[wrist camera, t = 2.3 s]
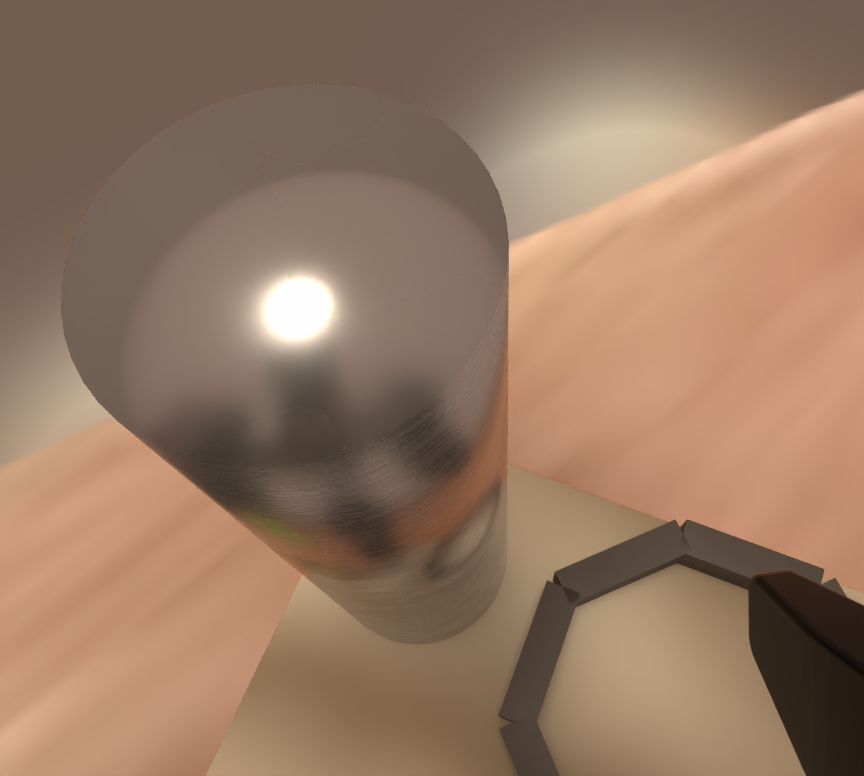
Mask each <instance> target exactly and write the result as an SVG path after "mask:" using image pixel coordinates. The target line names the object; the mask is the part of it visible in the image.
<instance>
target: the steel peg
mask: <svg viewBox="0 0 864 776" xmlns="http://www.w3.org/2000/svg"><path fill="white" fill-rule="evenodd" d="M508 281H509V240H508V232H507V223H506V216H505V213H504V209H503V206H502V202H501V199H500V195H499V193H498V190H497V188H496V186H495V184H494V182H493V180H492V178H491V176H490V173H489V172H488V170H487V169H486V167H485V166H484V164H483V163H482V161H481V160H480V159H479V157H478V155H477V154H476V153H475V152H474V150H473V149H472V148H471V147H470V146H469V145H468V144H467V143H466V142H465V141H464V140H463V138H461V136H460V135H458V134H457V133H456V132H455V131H454V130H452V129H451V128H450V127H449V126H447V125H446V124H445V123H444V122H443V121H441V120H440V119H438V118H436V117H435V116H433V115H431V114H430V113H428V112H426V111H425V110H423V109H422V108H419V107H417V106H415V105H413V104H411V103H408V102H406V101H404V100H402V99H399V98H397V97H393V96H390V95H387V94H384V93H381V92H377V91H374V90H369V89H364V88H359V87H353V86H344V85H333V84H297V85H289V86H280V87H272V88H267V89H262V90H258V91H253V92H248V93H245V94H242V95H239V96H235V97H232V98H229V99H226V100H223V101H220V102H218V103H215V104H213V105H211V106H208V107H206V108H203V109H201V110H199V111H197V112H195V113H193V114H191V115H189V116H187V117H186V118H184V119H182V120H180V121H178V122H176V123H175V124H173V125H172V126H170V127H168V128H167V129H165V130H164V131H162V132H161V133H159V134H158V135H156V136H155V137H153V138H152V139H151V140H150V141H148V142H147V143H146V144H145V145H143V146H142V147H141V148H140V149H139V150H137V151H136V152H135V153H134V154H132V156H130V157H129V158H128V159H127V160H126V161H125V162H124V164H122V165H121V166H120V167H119V169H117V170H116V171H115V173H114V174H113V175H112V176H111V177H110V179H109V180H108V181H107V182H106V184H105V185H104V186H103V188H102V189H101V190H100V191H99V192H98V194H97V195H96V197H95V199H94V200H93V202H92V203H91V205H90V206H89V208H88V209H87V211H86V213H85V214H84V216H83V218H82V221H81V223H80V225H79V227H78V229H77V231H76V233H75V235H74V238H73V241H72V244H71V247H70V250H69V253H68V256H67V259H66V264H65V269H64V275H63V281H62V290H61V291H62V292H61V293H62V294H61V314H62V321H63V329H64V335H65V339H66V342H67V345H68V349H69V352H70V355H71V358H72V360H73V362H74V364H75V366H76V368H77V370H78V372H79V374H80V376H81V378H82V380H83V382H84V383H85V385H86V386H87V387H88V389H89V390H90V391H91V393H92V394H93V396H94V397H95V398H96V400H97V401H98V402H99V403H100V404H101V405H102V406H103V407H104V408H105V409H106V410H107V411H108V412H109V413H110V414H111V415H112V416H113V417H114V418H115V419H116V420H117V421H118V422H119V423H121V424H122V425H123V426H124V427H125V428H127V429H128V430H129V431H130V432H131V433H133V434H134V435H135V436H136V437H137V438H139V439H140V440H141V441H142V442H143V443H145V444H146V445H147V446H148V447H149V448H151V449H152V450H153V451H154V452H155V453H157V454H158V455H159V456H160V457H161V458H163V459H164V460H165V461H166V462H167V463H169V464H170V465H171V466H172V467H173V468H175V469H176V470H177V471H178V472H179V473H181V474H182V475H183V476H184V477H185V478H187V479H188V480H189V481H190V482H191V483H193V484H194V485H195V486H196V487H197V488H199V489H200V490H201V491H202V492H203V493H205V494H206V495H207V496H208V497H210V498H211V499H212V500H213V501H214V502H216V503H217V504H218V505H219V506H220V507H222V508H223V509H224V510H225V511H226V512H228V513H229V514H230V515H231V516H232V517H234V518H235V519H236V520H237V521H238V522H240V523H241V524H242V525H243V526H244V527H246V528H247V529H248V530H249V531H250V532H252V533H253V534H254V535H255V536H256V537H258V538H259V539H260V540H261V541H262V542H264V543H265V544H266V545H267V546H268V547H270V548H271V549H272V550H273V551H274V552H276V553H277V554H278V555H279V556H280V557H282V558H283V559H284V560H285V561H286V562H288V563H289V564H290V565H291V566H292V567H294V568H295V569H296V570H297V571H298V572H300V573H301V574H302V575H303V576H304V577H306V578H307V579H308V580H309V581H311V582H312V583H313V584H314V585H315V586H317V587H318V588H319V589H320V590H321V591H323V592H324V593H325V594H326V595H327V596H329V597H330V598H331V599H332V600H333V601H335V602H336V603H337V604H338V605H339V606H341V607H342V608H343V609H344V610H345V611H347V612H348V613H349V614H350V615H351V616H353V617H354V618H355V619H356V620H357V621H359V622H360V623H361V624H362V625H364V626H365V627H366V628H368V629H369V630H370V631H372V632H374V633H376V634H378V635H379V636H381V637H384V638H386V639H389V640H392V641H396V642H400V643H405V644H429V643H434V642H439V641H442V640H445V639H448V638H451V637H453V636H455V635H457V634H459V633H461V632H463V631H464V630H466V629H467V628H469V627H470V626H472V625H473V624H474V623H475V622H476V621H477V620H478V619H479V618H481V617H482V616H483V614H484V613H485V612H486V611H487V610H488V608H489V607H490V606H491V604H492V602H493V601H494V599H495V598H496V596H497V594H498V591H499V589H500V587H501V584H502V581H503V578H504V575H505V569H506V561H507V443H508Z"/></svg>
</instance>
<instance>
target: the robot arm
mask: <svg viewBox="0 0 864 776" xmlns="http://www.w3.org/2000/svg"><path fill="white" fill-rule="evenodd" d="M748 618H749V642H750V647H751V651H752V654H753V657H754V659H755V662H756V664H757V666H758V669H759V671H760V673H761V675H762V678H763V680H764V682H765V685H766V687H767V689H768V691H769V694H770V696H771V698H772V700H773V703H774V705H775V707H776V710H777V712H778V714H779V716H780V719H781V721H782V723H783V725H784V728H785V730H786V732H787V735H788V737H789V739H790V741H791V744H792V746H793V748H794V750H795V753H796V755H797V757H798V759H799V762H800V764H801V766H802V768H803V771H804V773H805V775H806V776H864V605H862V604H860V603H858V602H856V601H854V600H852V599H850V598H848V597H845V596H843V595H841V594H839V593H837V592H835V591H833V590H831V589H829V588H827V587H824V586H822V585H820V584H818V583H816V582H814V581H812V580H810V579H808V578H806V577H803V576H801V575H799V574H797V573H795V572H792V571H790V570H779V571H772V572H765V573H758V574H754V575H753V576H752V577H751V578H750V581H749V585H748Z"/></svg>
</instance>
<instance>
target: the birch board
mask: <svg viewBox="0 0 864 776" xmlns="http://www.w3.org/2000/svg"><path fill="white" fill-rule="evenodd" d="M779 570H790V571H792V572H795V573H797V574H799V575H801V576H803V577H806V578H808V579H810V580H812V581H814V582H816V583H818V584H820V585H822V586H824V587H827V588H829V589H831V590H833V591H835V592H837V593H839V594H841V595H843V596H845V597H848V598H850V599H852V600H854V601H856V602H858V603H860V604H862V605H864V594H863V593H860V592H857V591H855V590H852V589H849V588H846V587H844V586H841V585H839V583H838V582H837V580H836V578H834V579H832V580H829V581H827V580H825V579H822V578H823V573H824V569H822V568H820V567H817V566H814V565H811V564H809V563H806V562H803V561H800V560H798V559H795V558H792V557H789V556H787V555H784V554H781V553H778V552H776V551H773V550H770V549H767V548H765V547H762V546H759V545H756V544H754V543H751V542H748V541H745V540H743V539H740V538H737V537H734V536H732V535H729V534H726V533H723V532H721V531H718V530H715V529H712V528H709V527H707V526H704V525H701V524H698V523H696V522H693V521H690V520H686V521H685V523H684V524H683V525H682V526H681V527H680V526H679V525H678V524H677V522H676V520H673V521H671V522H666V521H663V520H661V519H658V518H655V517H653V516H650V515H647V514H644V513H642V512H639V511H636V510H633V509H631V508H628V507H625V506H623V505H620V504H617V503H614V502H612V501H609V500H606V499H603V498H601V497H598V496H595V495H592V494H590V493H587V492H584V491H582V490H579V489H576V488H573V487H571V486H568V485H565V484H562V483H560V482H557V481H554V480H552V479H549V478H546V477H543V476H541V475H538V474H535V473H532V472H530V471H527V470H524V469H522V468H519V467H516V466H513V465H511V464H508V463H507V561H506V569H505V575H504V578H503V581H502V584H501V587H500V589H499V591H498V594H497V596H496V598H495V599H494V601H493V602H492V604H491V606H490V607H489V608H488V610H487V611H486V612H485V613H484V614H483V616H482V617H481V618H479V619H478V620H477V621H476V622H475V623H474V624H473V625H472V626H470V627H469V628H467V629H466V630H464V631H463V632H461V633H459V634H457V635H455V636H453V637H451V638H448V639H445V640H442V641H439V642H434V643H429V644H405V643H400V642H396V641H392V640H389V639H386V638H384V637H381V636H379V635H378V634H376V633H374V632H372V631H370V630H369V629H368V628H366V627H365V626H364V625H362V624H361V623H360V622H359V621H357V620H356V619H355V618H354V617H353V616H351V615H350V614H349V613H348V612H347V611H345V610H344V609H343V608H342V607H341V606H339V605H338V604H337V603H336V602H335V601H333V600H332V599H331V598H330V597H329V596H327V595H326V594H325V593H324V592H323V591H321V590H320V589H319V588H318V587H317V586H315V585H314V584H313V583H312V582H311V581H309V580H308V579H307V578H306V577H304V576H303V575H302V576H301V578H300V580H299V582H298V584H297V586H296V589H295V591H294V593H293V595H292V597H291V599H290V601H289V603H288V605H287V607H286V609H285V611H284V614H283V616H282V618H281V620H280V622H279V624H278V626H277V628H276V630H275V632H274V634H273V636H272V639H271V641H270V643H269V645H268V647H267V649H266V651H265V653H264V655H263V657H262V659H261V661H260V663H259V666H258V668H257V670H256V672H255V674H254V676H253V678H252V680H251V682H250V684H249V686H248V688H247V691H246V693H245V695H244V697H243V699H242V701H241V703H240V705H239V707H238V709H237V711H236V713H235V716H234V718H233V720H232V722H231V724H230V726H229V728H228V730H227V732H226V734H225V736H224V738H223V741H222V743H221V745H220V747H219V749H218V751H217V753H216V755H215V757H214V759H213V761H212V763H211V766H210V768H209V770H208V772H207V774H206V776H806V775H805V773H804V771H803V768H802V766H801V764H800V762H799V759H798V757H797V755H796V753H795V750H794V748H793V746H792V744H791V741H790V739H789V737H788V735H787V732H786V730H785V728H784V725H783V723H782V721H781V719H780V716H779V714H778V712H777V710H776V707H775V705H774V703H773V700H772V698H771V696H770V694H769V691H768V689H767V687H766V685H765V682H764V680H763V678H762V675H761V673H760V671H759V669H758V666H757V664H756V662H755V659H754V657H753V654H752V651H751V647H750V642H749V618H748V585H749V581H750V578H751V577H752V576H753V575H754V574H758V573H765V572H772V571H779Z"/></svg>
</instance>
